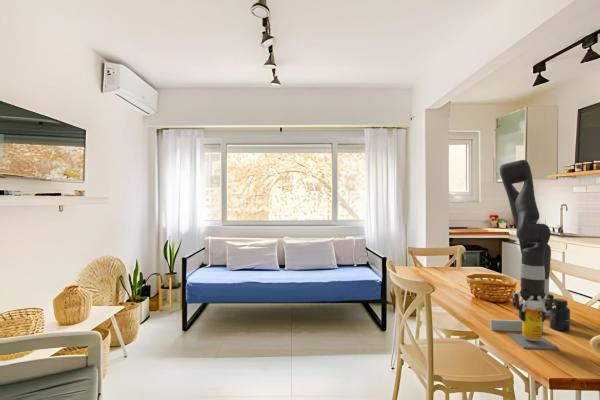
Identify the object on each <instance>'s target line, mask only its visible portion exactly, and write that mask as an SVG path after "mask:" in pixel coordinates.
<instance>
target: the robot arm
mask: <svg viewBox="0 0 600 400" xmlns="http://www.w3.org/2000/svg"><path fill="white" fill-rule="evenodd" d="M499 174H500V178H501V180H502V184H503V186H504V189H505V192H506V196H507V199H508V202H509V207H510V211H511V215H512V219H513V221H514V225H515V229H516V237H517V239H518V241H519V249H520V253H521V266H520V291H519V292H515V291H514V292H513V291H512V292H511V298H512V306H513V308H514V309H516V310H518V318H519V319H520V321H525V313H526V312H525V310H526V306H528V302H529V300H535V301H536V300H538V301H540V300H541V302H542V322H543V323H544V322H545V321H546V319H547V318H546V317H550V311H551V310H552V305H553V299H554V297H555V296H554V295H553V294H551V293H550V273H551V259H552V249H551V246H550V245H549V241H550V238H551V234H552V232H551V229H550V226H549V225H548V224H546V223H538V221H539V219H540V212H539V208H538V206H537V205H538V204H537V202H536V196H535V187H534V181H533V175H532V169H531V166H530V164H529V162H528V161H527V159H520V160H516V161H515V160H514V161H512V162H507V163H504V164H501V165H500V166H499ZM519 183H523V185H522V188H521V189H520V191H518V190H517V188H516V187H515V186H514V184H519ZM520 297H521V300H520ZM523 300H525V301H526V302H525V303H524V302H523Z"/></svg>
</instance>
